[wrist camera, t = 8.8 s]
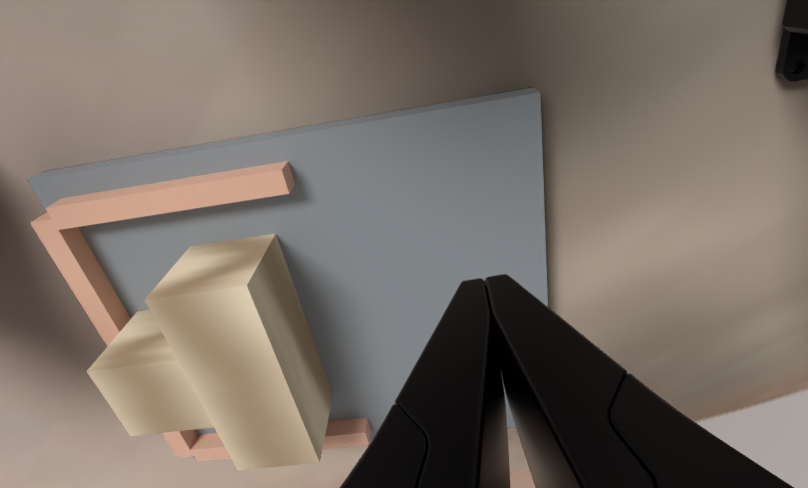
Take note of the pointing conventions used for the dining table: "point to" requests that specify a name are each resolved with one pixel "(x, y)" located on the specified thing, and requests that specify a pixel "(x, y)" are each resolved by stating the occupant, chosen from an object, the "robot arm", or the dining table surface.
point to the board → (321, 232)
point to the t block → (223, 357)
